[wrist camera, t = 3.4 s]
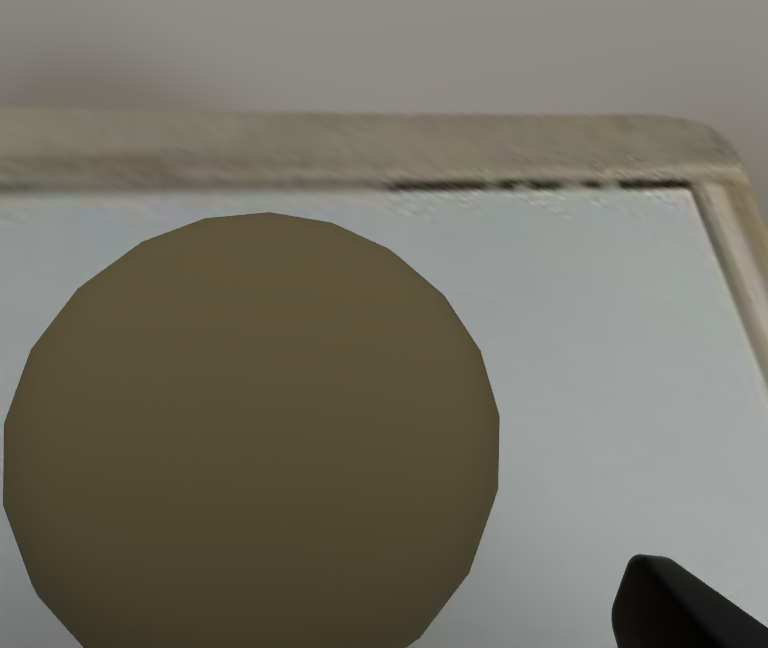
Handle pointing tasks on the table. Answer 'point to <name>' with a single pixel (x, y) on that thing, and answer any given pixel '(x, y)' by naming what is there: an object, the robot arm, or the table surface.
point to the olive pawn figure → (251, 444)
